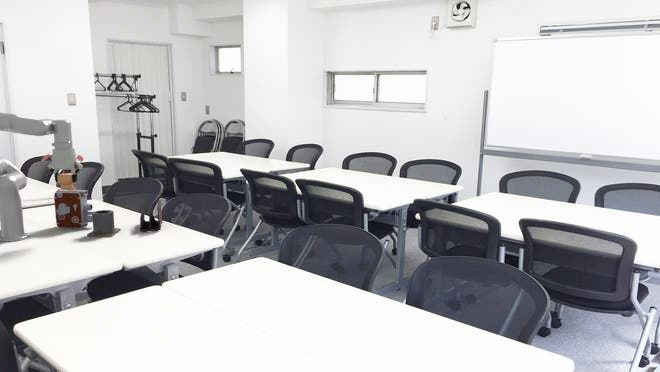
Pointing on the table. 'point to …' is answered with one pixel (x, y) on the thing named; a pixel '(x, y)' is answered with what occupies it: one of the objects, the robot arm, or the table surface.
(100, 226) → the top hat
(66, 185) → the cap
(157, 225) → the letter holder
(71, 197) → the cine camera
